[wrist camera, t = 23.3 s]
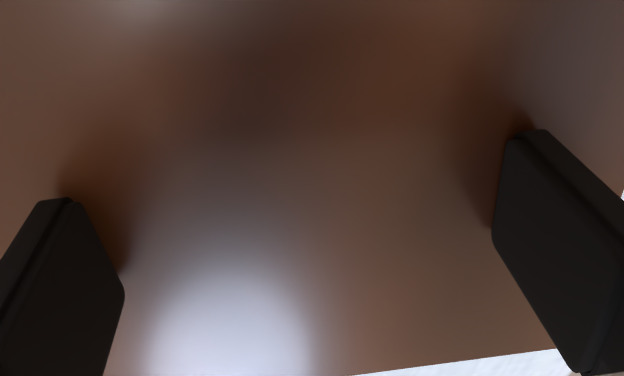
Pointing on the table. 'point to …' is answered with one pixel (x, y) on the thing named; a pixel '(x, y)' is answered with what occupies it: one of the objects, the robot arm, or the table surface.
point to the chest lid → (301, 167)
